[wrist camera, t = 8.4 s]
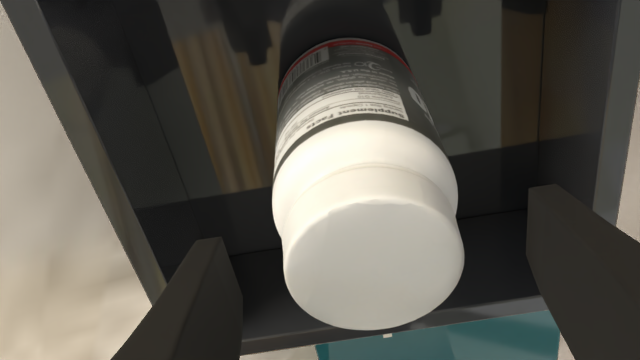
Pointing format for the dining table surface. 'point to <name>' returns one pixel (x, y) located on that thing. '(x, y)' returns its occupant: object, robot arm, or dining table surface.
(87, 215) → the dining table surface
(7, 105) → the dining table surface
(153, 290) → the dark open box
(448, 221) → the pill bottle
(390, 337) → the teal flat box
